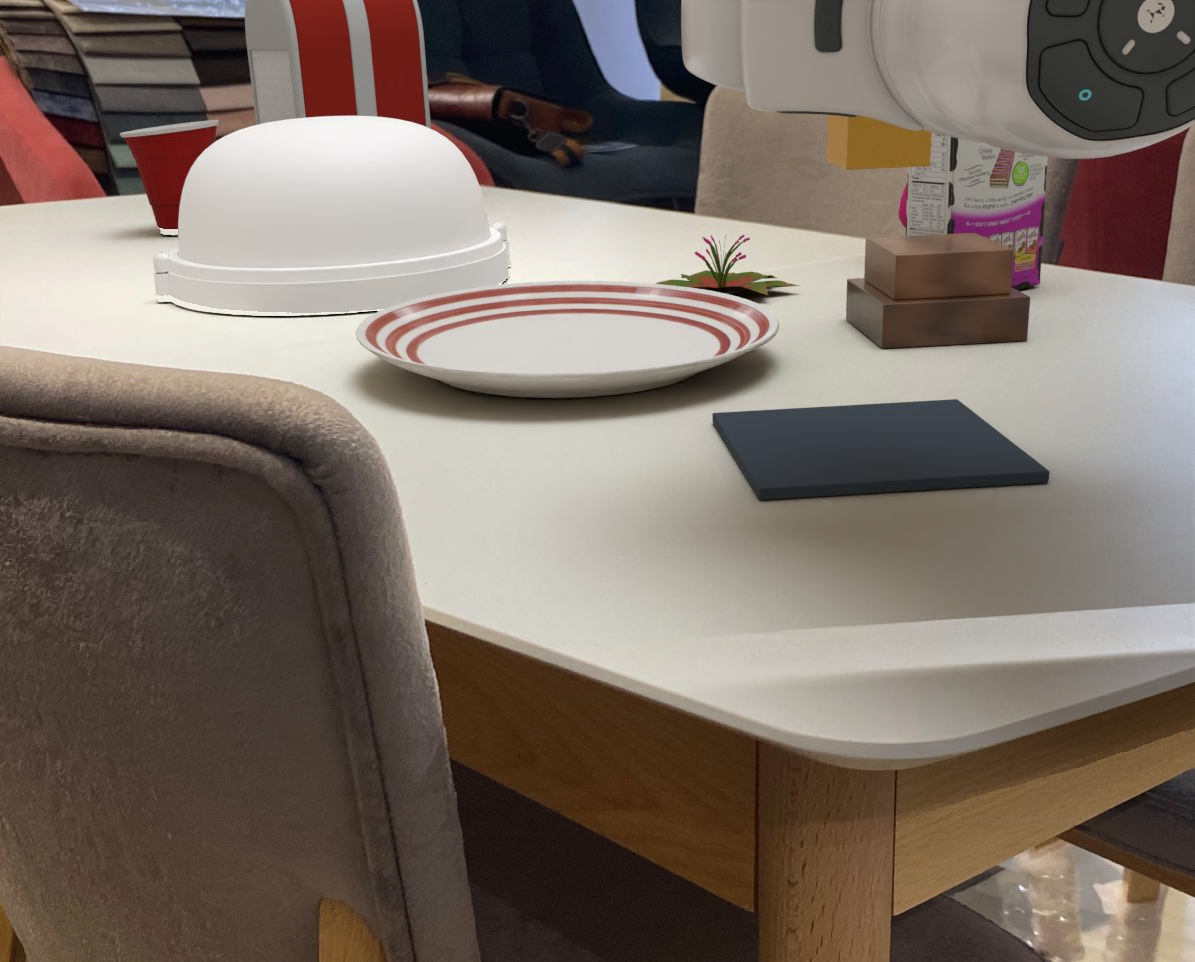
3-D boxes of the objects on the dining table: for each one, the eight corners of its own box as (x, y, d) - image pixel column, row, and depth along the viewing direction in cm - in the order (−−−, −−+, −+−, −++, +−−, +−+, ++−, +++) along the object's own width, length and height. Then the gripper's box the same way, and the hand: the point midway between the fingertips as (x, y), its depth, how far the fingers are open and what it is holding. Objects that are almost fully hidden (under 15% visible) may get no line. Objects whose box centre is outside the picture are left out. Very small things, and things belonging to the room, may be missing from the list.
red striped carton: (439, 200, 183) (422, -30, 173) (309, 214, 175) (283, -27, 165) (386, 190, 197) (367, -24, 186) (262, 203, 188) (235, -21, 178)
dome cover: (461, 246, 146) (451, 100, 141) (569, 290, 120) (562, 114, 115) (137, 277, 135) (113, 120, 130) (180, 333, 109) (151, 141, 104)
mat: (956, 409, 81) (957, 398, 81) (1049, 483, 68) (1050, 470, 68) (712, 423, 80) (712, 412, 80) (759, 500, 68) (759, 488, 67)
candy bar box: (991, 279, 118) (1005, 68, 112) (1041, 286, 115) (1058, 68, 108) (897, 298, 112) (906, 75, 106) (947, 306, 109) (959, 76, 102)
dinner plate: (864, 356, 94) (865, 305, 93) (558, 447, 77) (555, 386, 76) (576, 309, 113) (575, 267, 112) (278, 375, 95) (272, 325, 94)
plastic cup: (153, 228, 169) (137, 120, 164) (244, 224, 168) (230, 117, 164) (121, 241, 159) (103, 128, 154) (217, 238, 158) (202, 124, 154)
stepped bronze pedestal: (978, 313, 106) (984, 230, 104) (1027, 341, 97) (1034, 250, 94) (845, 320, 105) (848, 236, 103) (881, 349, 96) (885, 258, 94)
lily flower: (620, 292, 119) (619, 236, 117) (737, 275, 125) (736, 221, 123) (705, 314, 109) (705, 252, 108) (827, 293, 115) (828, 235, 113)
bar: (906, 159, 71) (918, -110, 67) (930, 166, 67) (945, -118, 63) (826, 162, 71) (833, -108, 66) (846, 169, 67) (855, -116, 63)
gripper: (1247, -85, 54) (1098, -64, 67) (710, -68, 53) (663, -50, 66) (1225, 92, 56) (1086, 79, 69) (711, 113, 55) (665, 96, 68)
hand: (877, 16), depth 67 cm, fingers closed on bar, 4 cm apart
